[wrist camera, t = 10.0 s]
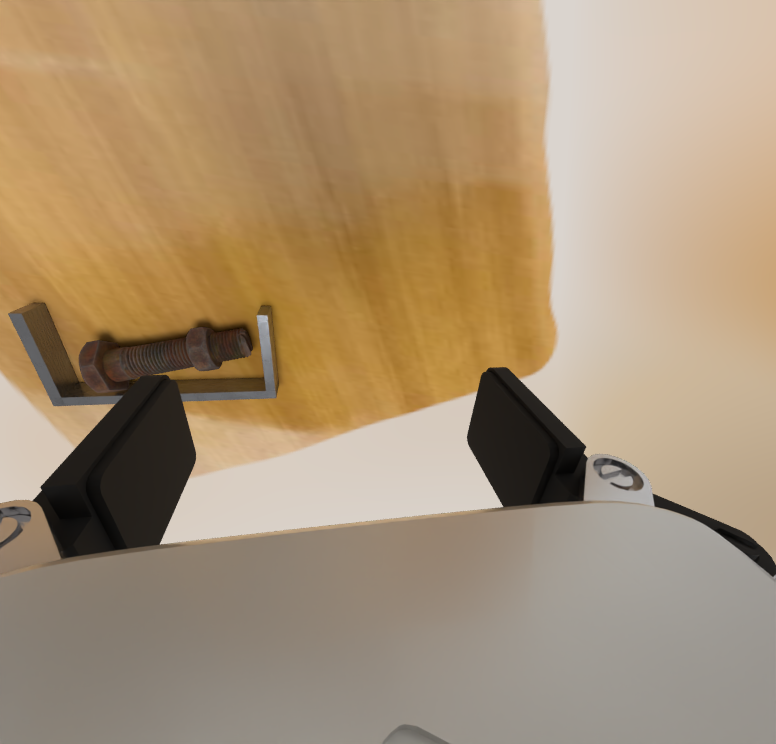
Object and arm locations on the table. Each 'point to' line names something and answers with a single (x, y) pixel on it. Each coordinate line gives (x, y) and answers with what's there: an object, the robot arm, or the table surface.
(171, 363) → the bolt
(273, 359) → the dock
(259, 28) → the table surface
